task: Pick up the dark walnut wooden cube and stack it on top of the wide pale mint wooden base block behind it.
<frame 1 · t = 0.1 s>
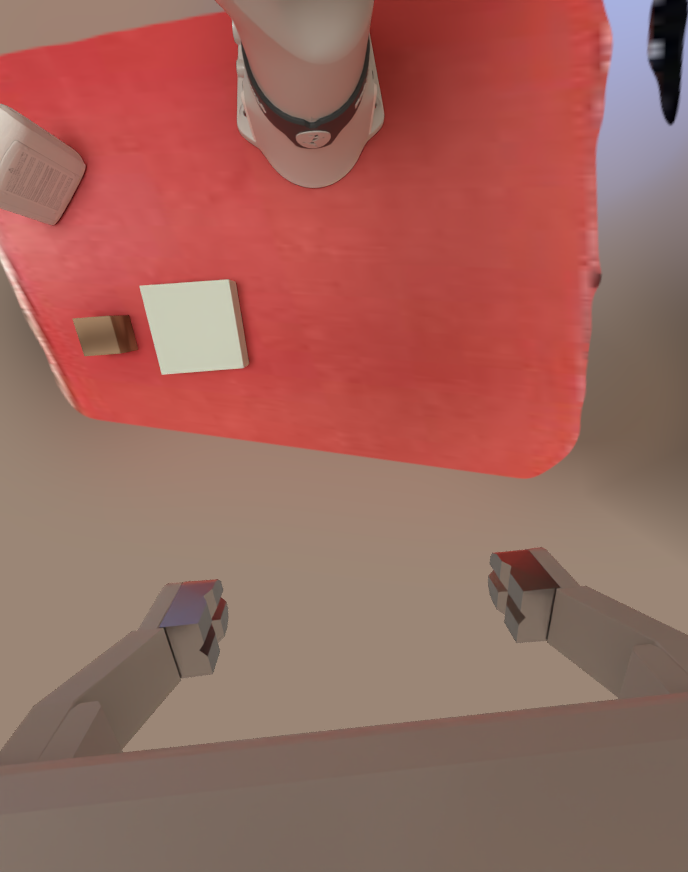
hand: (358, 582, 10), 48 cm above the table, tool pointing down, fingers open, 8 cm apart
mint base block: (203, 327, 53), on the table
white slotted box: (60, 187, 46), on the table
walnut cube: (117, 334, 52), on the table
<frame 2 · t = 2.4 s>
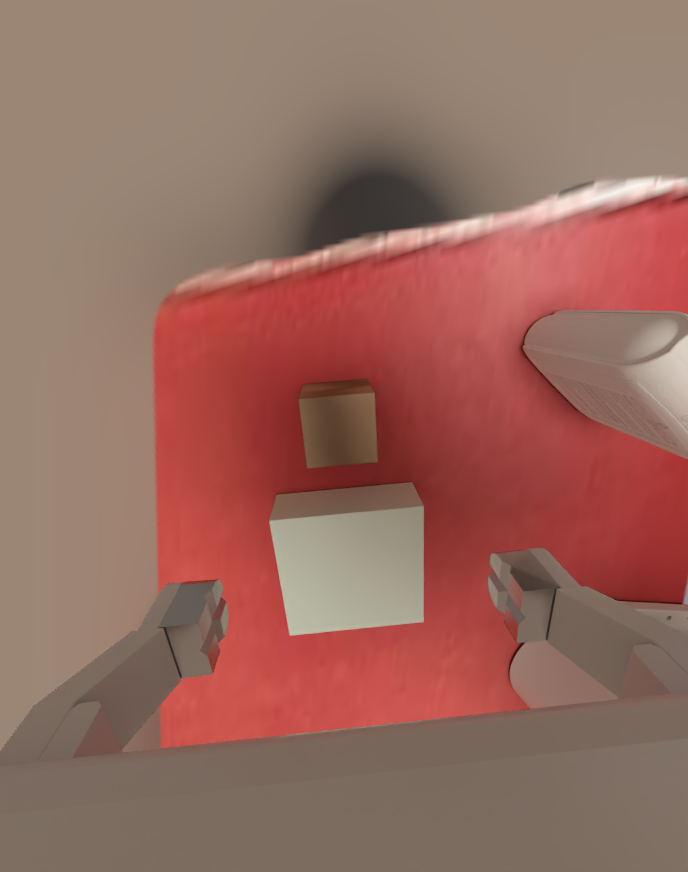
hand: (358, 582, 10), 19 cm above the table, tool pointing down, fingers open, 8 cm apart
mint base block: (349, 544, 32), on the table
white slotted box: (569, 366, 28), on the table
walnut cube: (337, 411, 28), on the table
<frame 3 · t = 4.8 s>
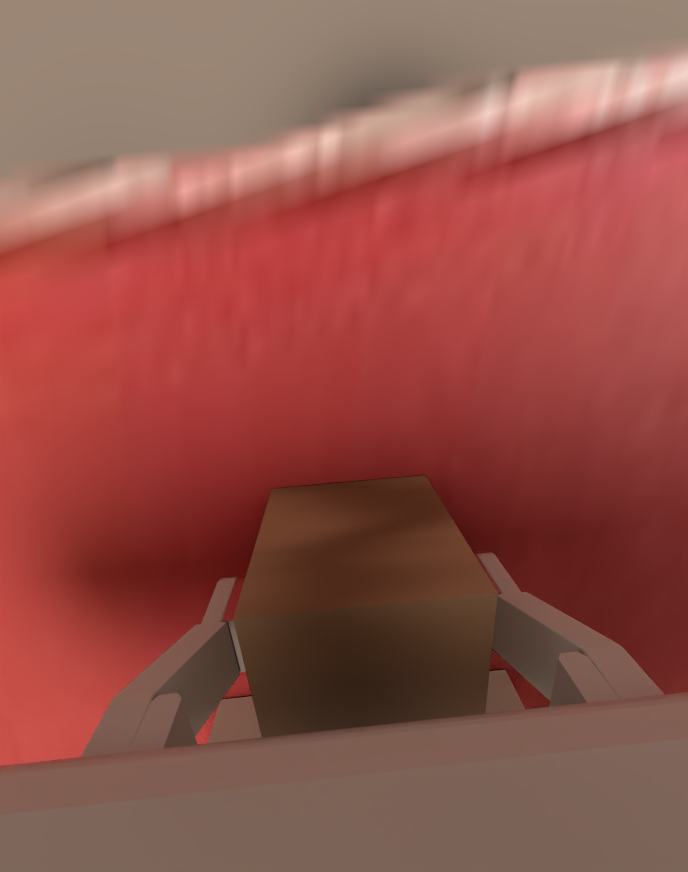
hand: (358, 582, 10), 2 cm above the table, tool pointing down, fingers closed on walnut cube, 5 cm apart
mint base block: (370, 770, 16), on the table
walnut cube: (353, 545, 12), on the table, touching gripper
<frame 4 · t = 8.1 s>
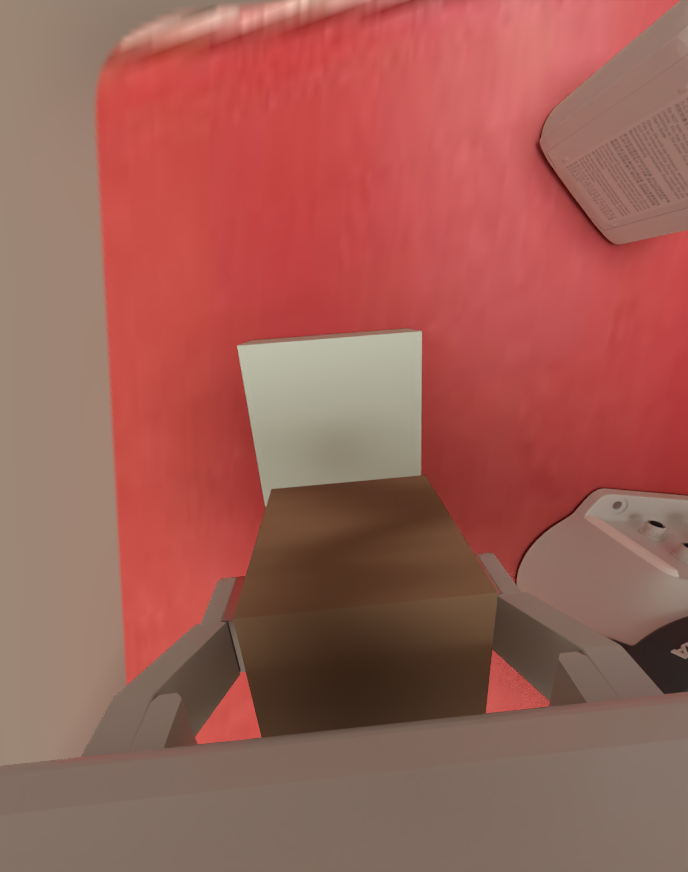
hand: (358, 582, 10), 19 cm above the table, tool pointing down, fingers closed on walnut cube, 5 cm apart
mint base block: (335, 410, 28), on the table
white slotted box: (593, 176, 24), on the table
walnut cube: (353, 545, 12), point 17 cm above the table, touching gripper
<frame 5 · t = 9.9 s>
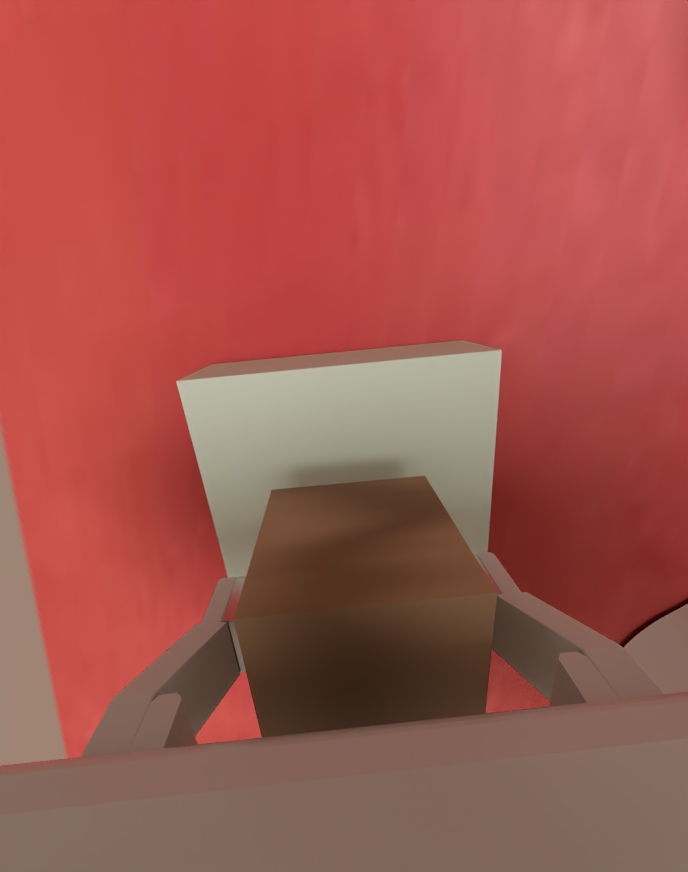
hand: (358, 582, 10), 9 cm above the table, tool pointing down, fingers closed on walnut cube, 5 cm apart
mint base block: (348, 465, 19), on the table
walnut cube: (353, 546, 12), point 7 cm above the table, touching gripper
when the fingers open (7 cm above the table, at t = 11.2 s): walnut cube stays where it is, resting on mint base block.
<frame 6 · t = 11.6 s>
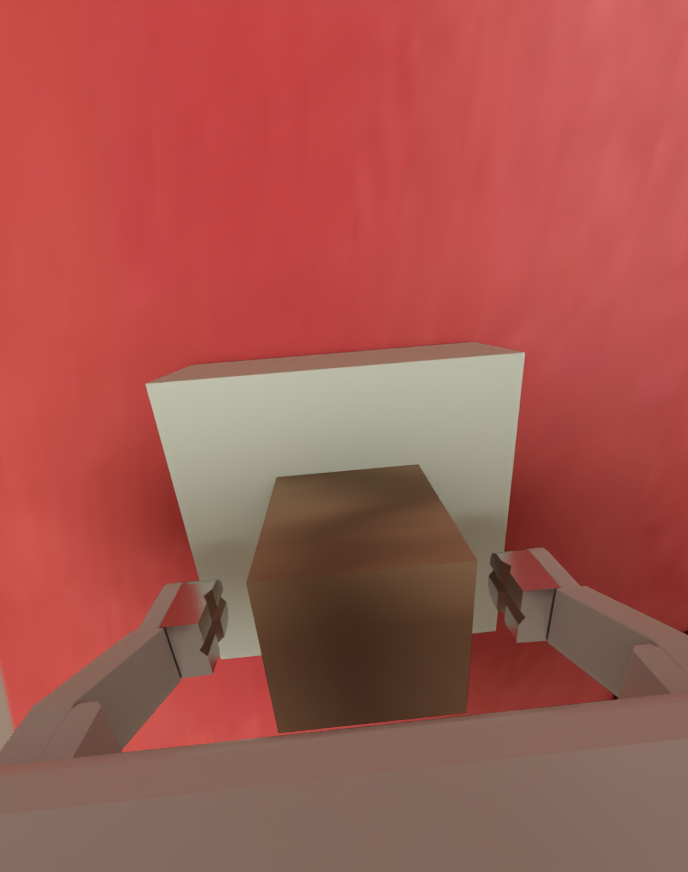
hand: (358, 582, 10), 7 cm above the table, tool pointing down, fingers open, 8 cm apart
mint base block: (344, 479, 17), on the table
walnut cube: (352, 530, 13), point 4 cm above the table, touching mint base block
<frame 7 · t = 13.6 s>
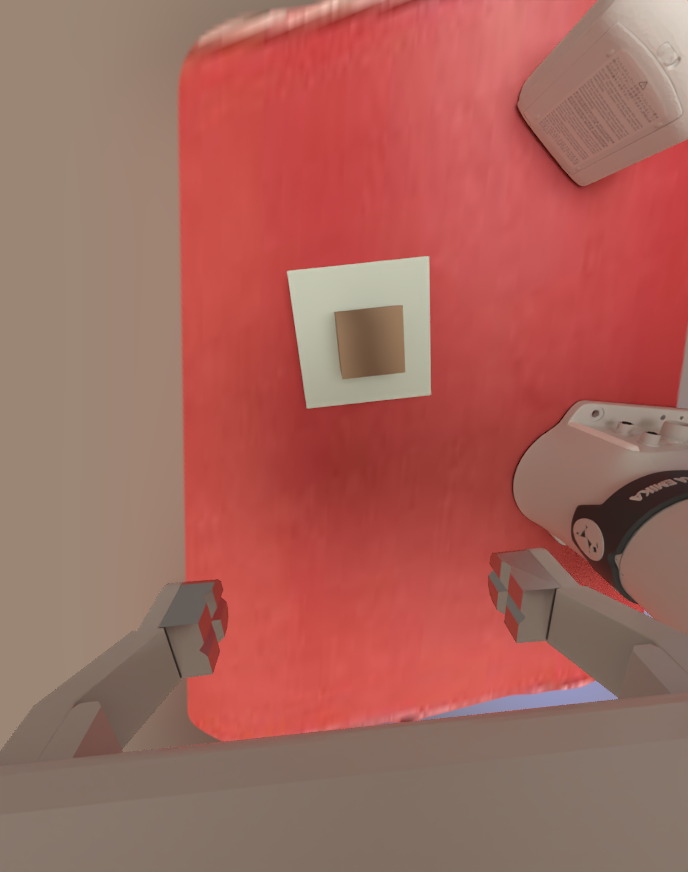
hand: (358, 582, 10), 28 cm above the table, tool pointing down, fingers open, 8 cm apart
mint base block: (359, 334, 35), on the table
white slotted box: (562, 132, 30), on the table
walnut cube: (364, 338, 31), point 4 cm above the table, touching mint base block
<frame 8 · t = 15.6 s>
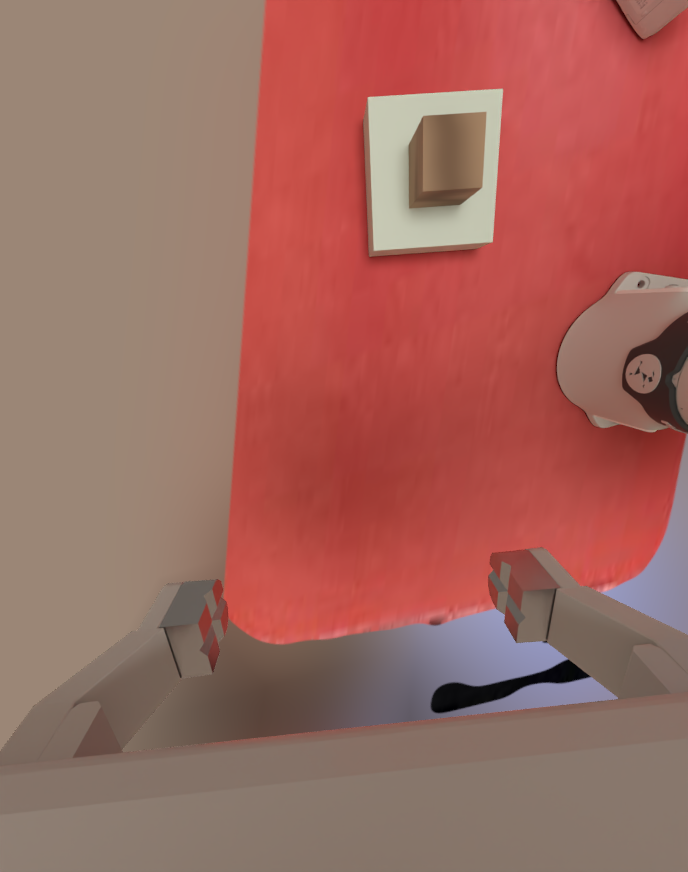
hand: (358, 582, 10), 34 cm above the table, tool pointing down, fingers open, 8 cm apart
mint base block: (423, 188, 36), on the table
walnut cube: (435, 175, 32), point 4 cm above the table, touching mint base block
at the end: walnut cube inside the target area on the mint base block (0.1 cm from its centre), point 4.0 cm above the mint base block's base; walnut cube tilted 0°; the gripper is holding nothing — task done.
